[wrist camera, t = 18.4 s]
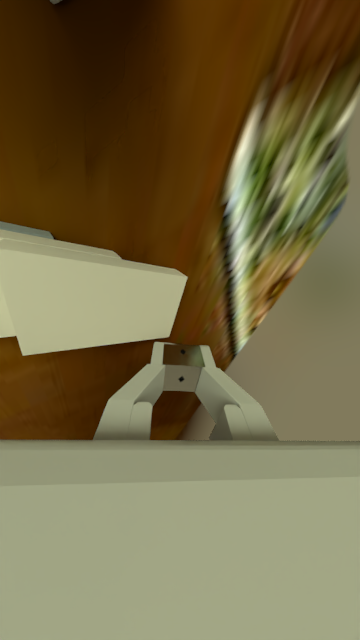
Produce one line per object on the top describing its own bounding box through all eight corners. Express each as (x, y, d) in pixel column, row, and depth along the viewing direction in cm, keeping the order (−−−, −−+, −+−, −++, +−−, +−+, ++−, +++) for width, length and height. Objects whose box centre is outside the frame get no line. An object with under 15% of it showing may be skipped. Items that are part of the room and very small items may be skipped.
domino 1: (109, 314, 15) (-77, 325, 9) (113, 251, 12) (-161, 198, 6) (114, 325, 14) (-98, 348, 7) (121, 257, 11) (-217, 200, 4)
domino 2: (160, 325, 16) (29, 334, 10) (175, 269, 13) (4, 238, 7) (169, 337, 14) (22, 355, 9) (187, 277, 12) (-12, 247, 6)
